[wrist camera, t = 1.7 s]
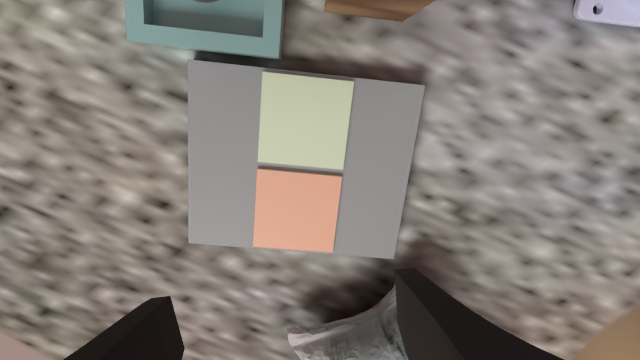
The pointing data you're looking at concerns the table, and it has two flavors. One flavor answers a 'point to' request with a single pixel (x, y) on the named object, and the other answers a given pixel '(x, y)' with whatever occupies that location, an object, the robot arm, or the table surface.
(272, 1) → the dish
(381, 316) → the packaged food
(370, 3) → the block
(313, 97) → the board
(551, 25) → the table surface
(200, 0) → the ball
